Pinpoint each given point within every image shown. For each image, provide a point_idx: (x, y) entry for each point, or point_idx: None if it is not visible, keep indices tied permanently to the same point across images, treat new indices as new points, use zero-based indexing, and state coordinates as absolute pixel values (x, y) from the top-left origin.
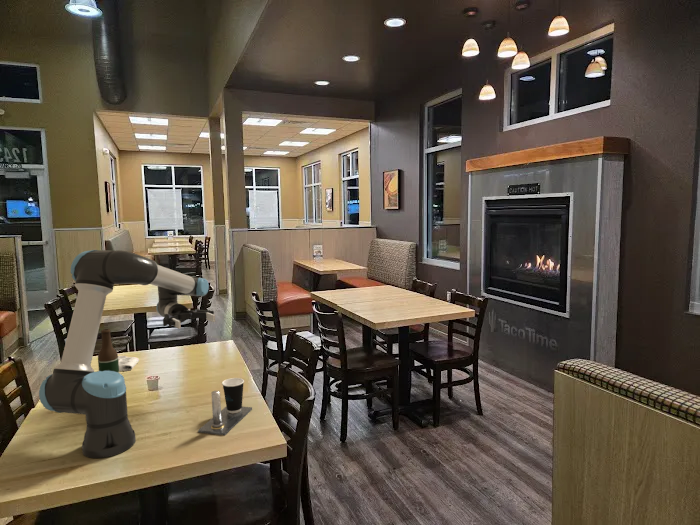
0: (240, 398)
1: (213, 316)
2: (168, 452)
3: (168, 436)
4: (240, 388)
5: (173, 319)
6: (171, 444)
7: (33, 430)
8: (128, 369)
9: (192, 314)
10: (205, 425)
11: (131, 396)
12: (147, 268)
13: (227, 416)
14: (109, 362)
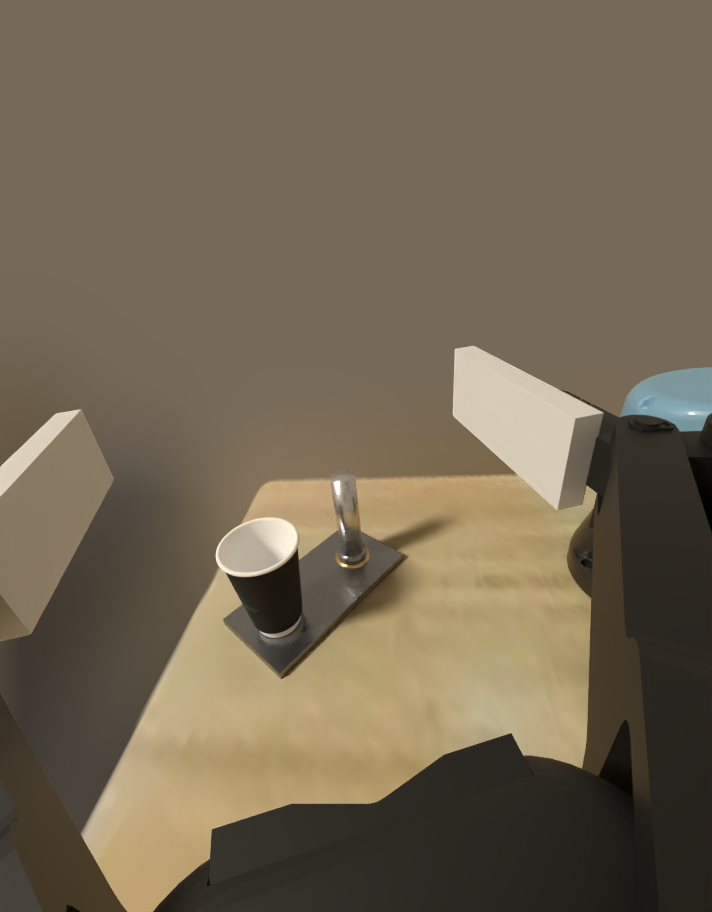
0: (258, 568)
1: (83, 422)
2: (468, 511)
3: (480, 566)
4: (250, 538)
5: (561, 394)
6: (466, 533)
7: None
8: None
9: (90, 897)
10: (381, 568)
11: None
12: None
13: (312, 593)
14: None
